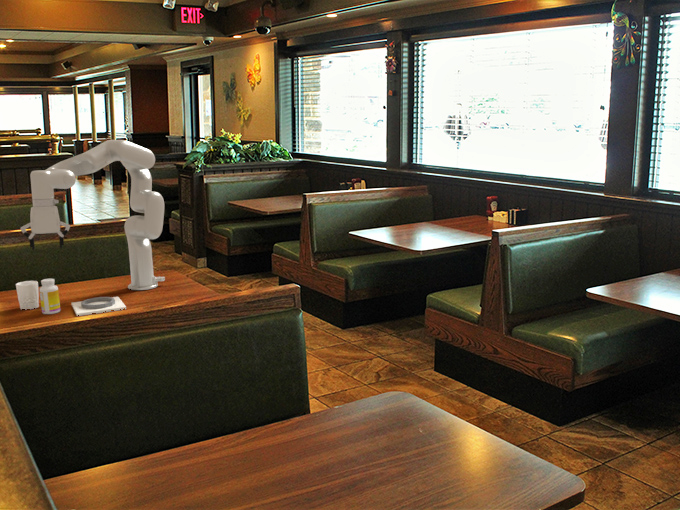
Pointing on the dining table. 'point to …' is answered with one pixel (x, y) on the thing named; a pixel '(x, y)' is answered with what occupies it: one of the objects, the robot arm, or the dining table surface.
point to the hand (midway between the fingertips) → (47, 248)
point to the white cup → (28, 294)
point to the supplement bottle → (49, 297)
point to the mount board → (98, 305)
